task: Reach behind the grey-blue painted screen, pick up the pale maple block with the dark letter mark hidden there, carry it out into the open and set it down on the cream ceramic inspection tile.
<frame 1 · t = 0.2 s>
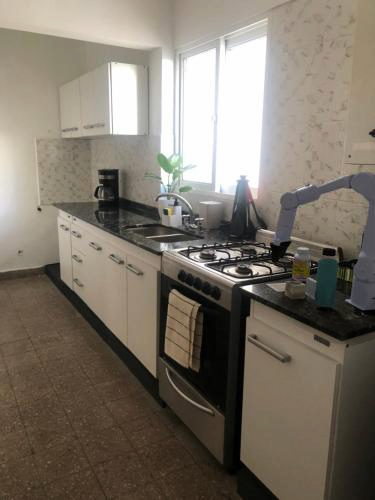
hand: (277, 260, 157), 10 cm above the worktop, tool pointing down, fingers open, 7 cm apart
beverage bottle: (323, 308, 137), on the worktop
supplement bottle: (300, 280, 170), on the worktop
letter cube: (294, 296, 148), on the worktop
inspection tile: (282, 287, 158), on the worktop
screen: (311, 296, 149), on the worktop
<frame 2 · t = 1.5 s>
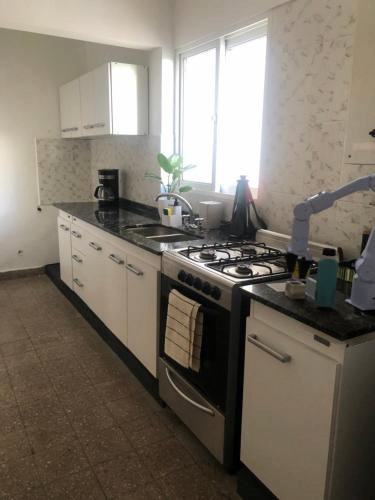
hand: (296, 275, 147), 8 cm above the worktop, tool pointing down, fingers open, 7 cm apart
nothing on the worktop moved.
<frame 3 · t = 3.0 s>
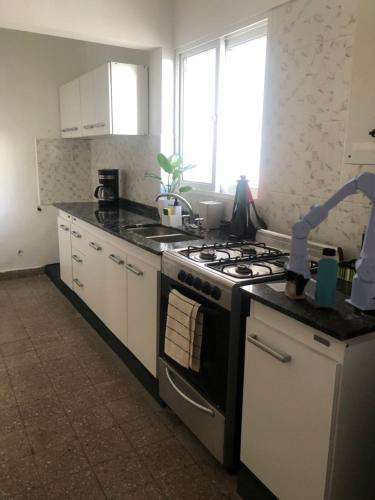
hand: (294, 292, 148), 1 cm above the worktop, tool pointing down, fingers closed on letter cube, 5 cm apart
letter cube: (294, 296, 148), on the worktop, touching gripper
everything else where it was.
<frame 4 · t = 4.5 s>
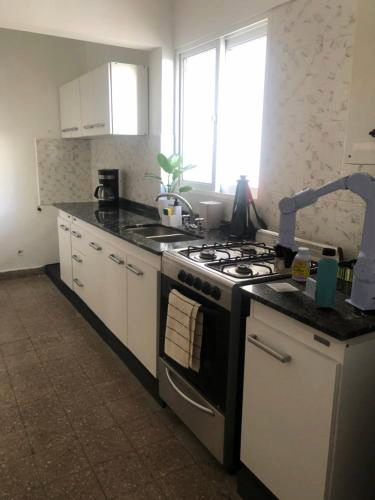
hand: (283, 266, 156), 8 cm above the worktop, tool pointing down, fingers closed on letter cube, 5 cm apart
letter cube: (282, 272, 156), point 6 cm above the worktop, touching gripper
everything else where it was.
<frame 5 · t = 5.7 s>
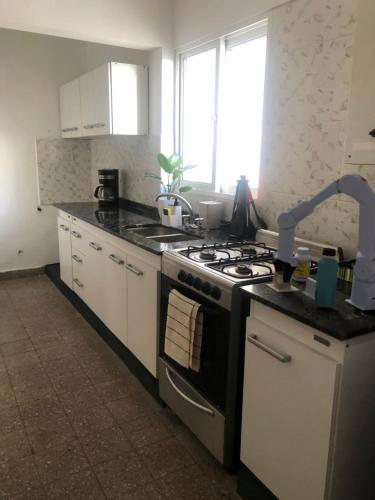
hand: (282, 280, 157), 3 cm above the worktop, tool pointing down, fingers closed on letter cube, 5 cm apart
letter cube: (281, 286, 158), point 1 cm above the worktop, touching gripper, inspection tile
everything else where it was.
when the fingers open (3 cm above the worktop, at t = 6.4 s): letter cube stays where it is, resting on inspection tile.
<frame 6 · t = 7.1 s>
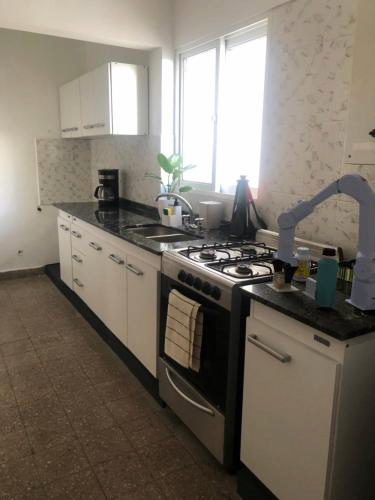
hand: (282, 280, 157), 3 cm above the worktop, tool pointing down, fingers open, 7 cm apart
letter cube: (281, 286, 158), resting on inspection tile
everything else where it was.
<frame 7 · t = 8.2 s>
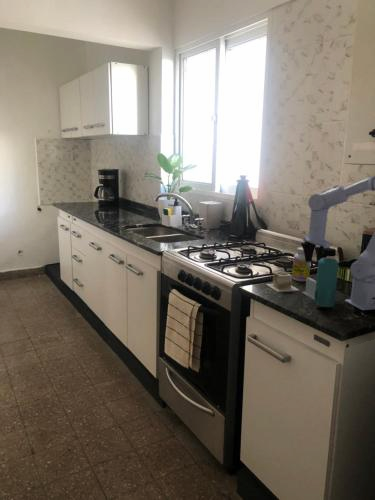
hand: (313, 263, 155), 10 cm above the worktop, tool pointing down, fingers open, 7 cm apart
nothing on the worktop moved.
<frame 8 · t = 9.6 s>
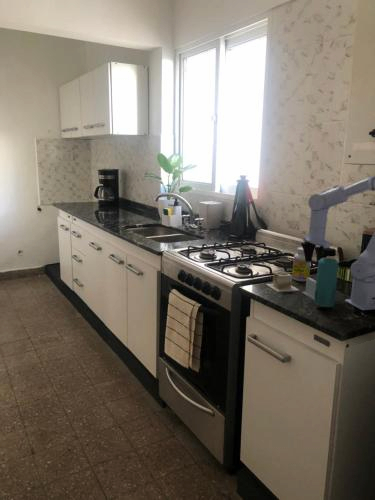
hand: (313, 263, 155), 10 cm above the worktop, tool pointing down, fingers open, 7 cm apart
nothing on the worktop moved.
at the end: letter cube inside the target area on the inspection tile (0.3 cm from its centre), point 0.5 cm above the inspection tile's base; letter cube tilted 0°; the gripper is holding nothing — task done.
